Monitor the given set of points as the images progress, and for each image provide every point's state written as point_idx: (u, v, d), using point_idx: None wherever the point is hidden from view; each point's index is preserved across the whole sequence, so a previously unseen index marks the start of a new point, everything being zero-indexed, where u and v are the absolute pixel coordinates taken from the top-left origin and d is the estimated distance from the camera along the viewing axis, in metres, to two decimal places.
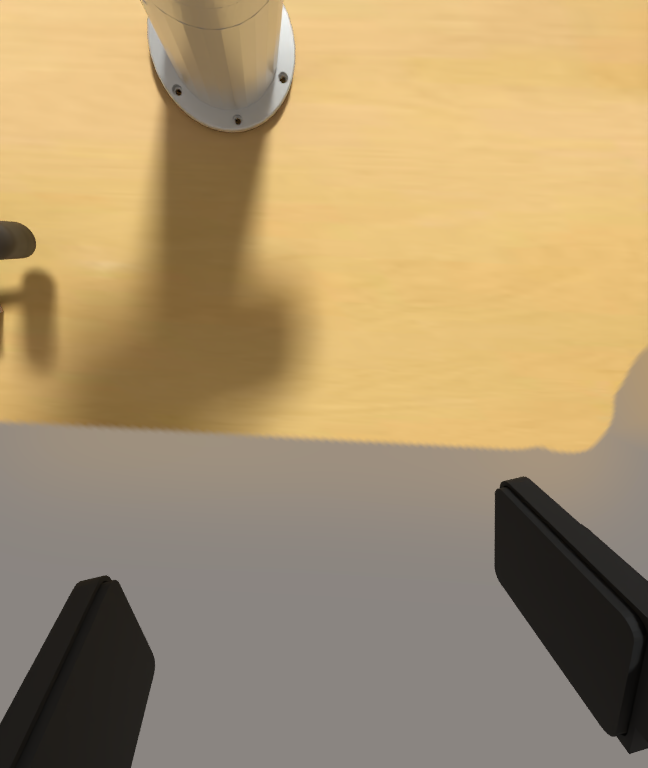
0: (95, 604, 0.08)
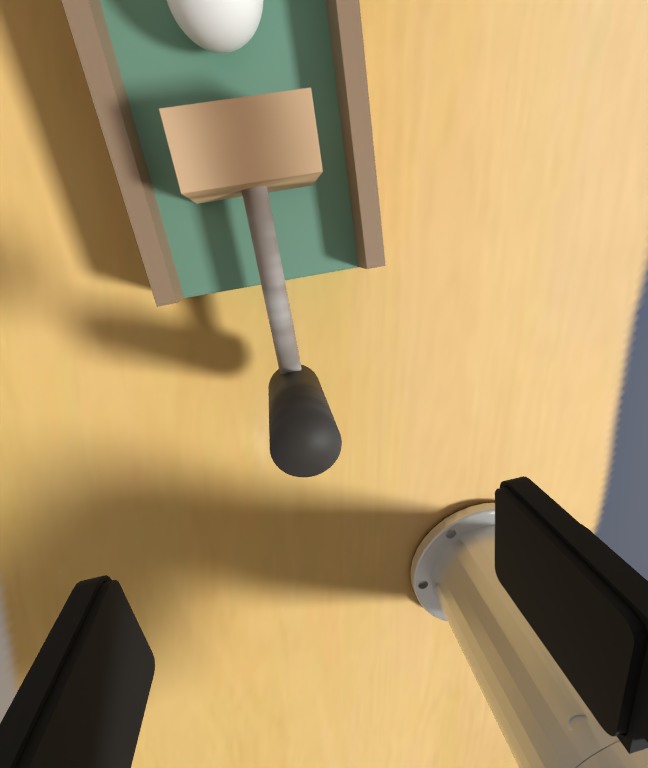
0: (95, 604, 0.08)
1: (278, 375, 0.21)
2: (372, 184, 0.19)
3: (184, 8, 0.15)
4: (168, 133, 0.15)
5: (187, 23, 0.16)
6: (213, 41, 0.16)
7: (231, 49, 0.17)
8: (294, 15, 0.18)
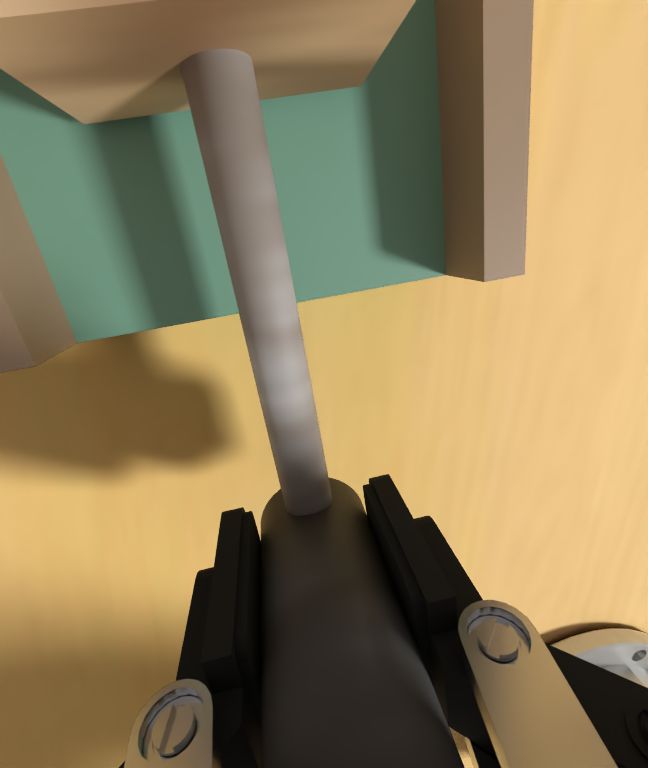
0: (245, 526, 0.09)
1: (282, 513, 0.10)
2: (519, 71, 0.08)
3: None
4: None
5: None
6: None
7: None
8: None
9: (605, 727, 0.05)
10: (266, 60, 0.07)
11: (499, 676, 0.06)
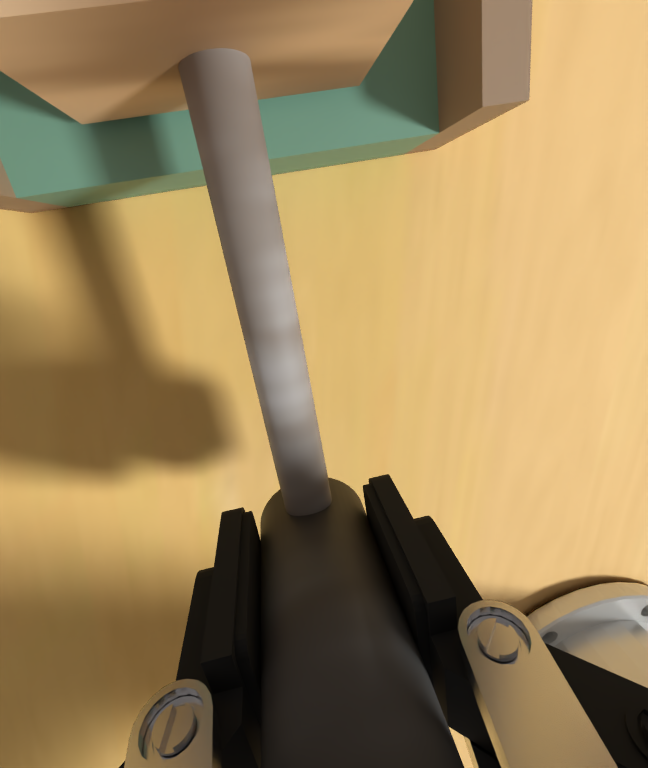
0: (245, 526, 0.09)
1: (281, 514, 0.10)
2: None
3: None
4: None
5: None
6: None
7: None
8: None
9: (605, 727, 0.05)
10: (264, 60, 0.07)
11: (499, 676, 0.06)
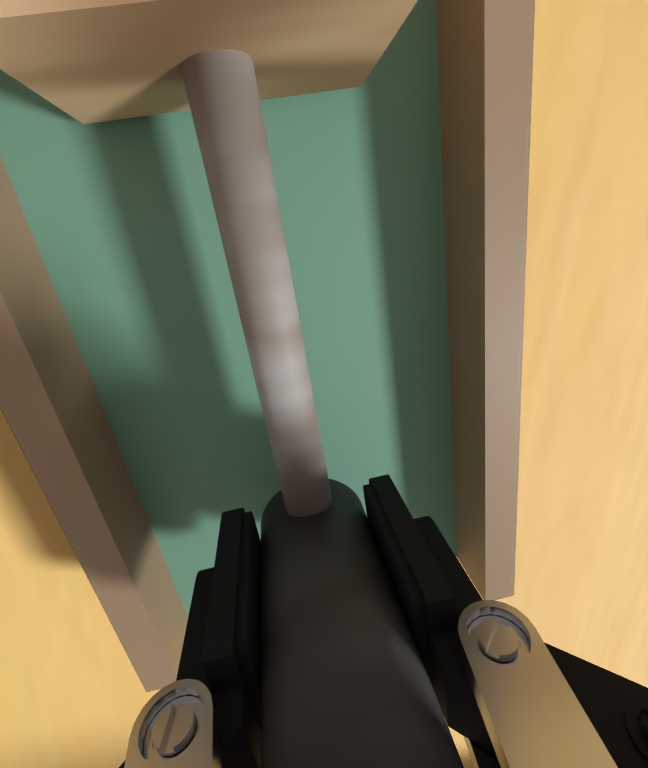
0: (245, 526, 0.09)
1: (281, 514, 0.10)
2: (509, 501, 0.11)
3: None
4: None
5: None
6: None
7: None
8: (387, 235, 0.10)
9: (605, 727, 0.05)
10: (267, 60, 0.07)
11: (499, 676, 0.06)
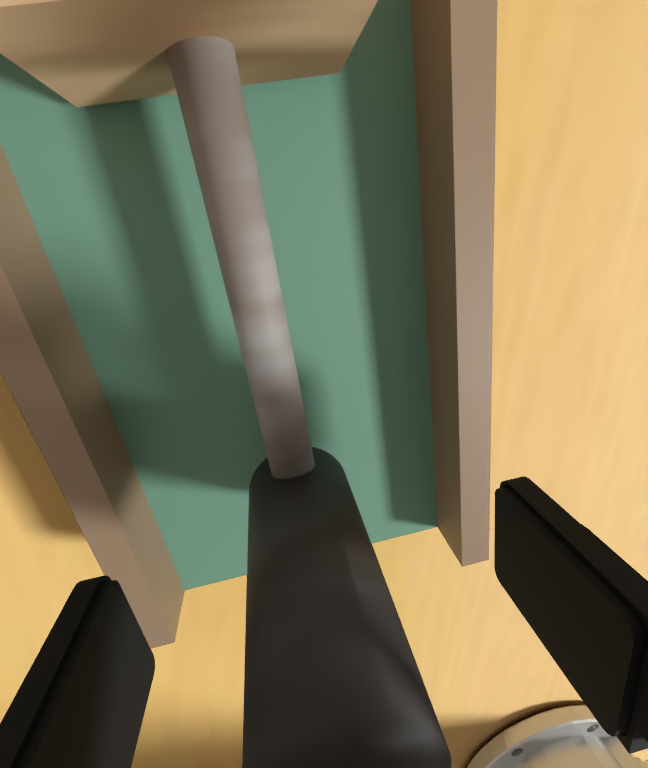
0: (95, 604, 0.08)
1: (267, 478, 0.10)
2: (483, 469, 0.12)
3: None
4: None
5: None
6: None
7: None
8: (367, 217, 0.11)
9: None
10: (247, 47, 0.07)
11: None
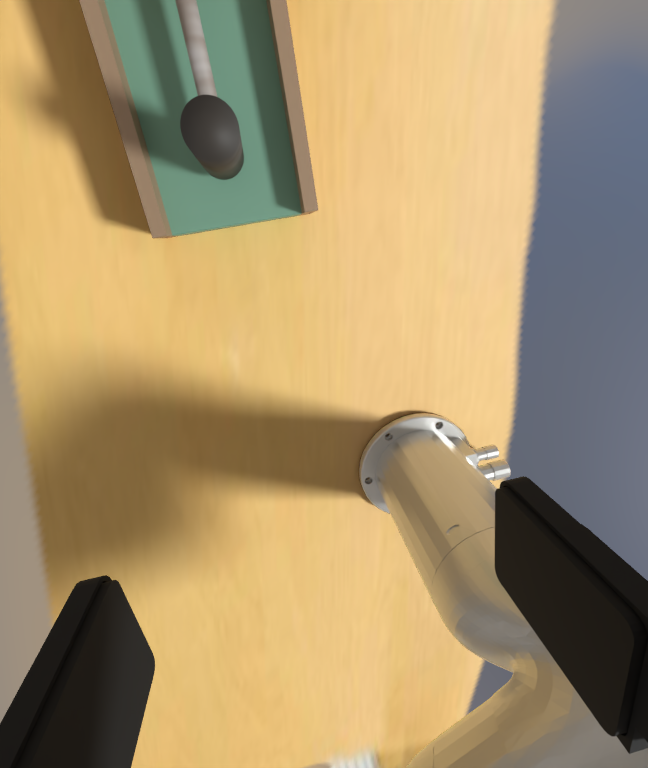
0: (95, 604, 0.08)
1: None
2: (305, 149, 0.27)
3: None
4: None
5: None
6: None
7: None
8: (246, 27, 0.26)
9: None
10: None
11: None
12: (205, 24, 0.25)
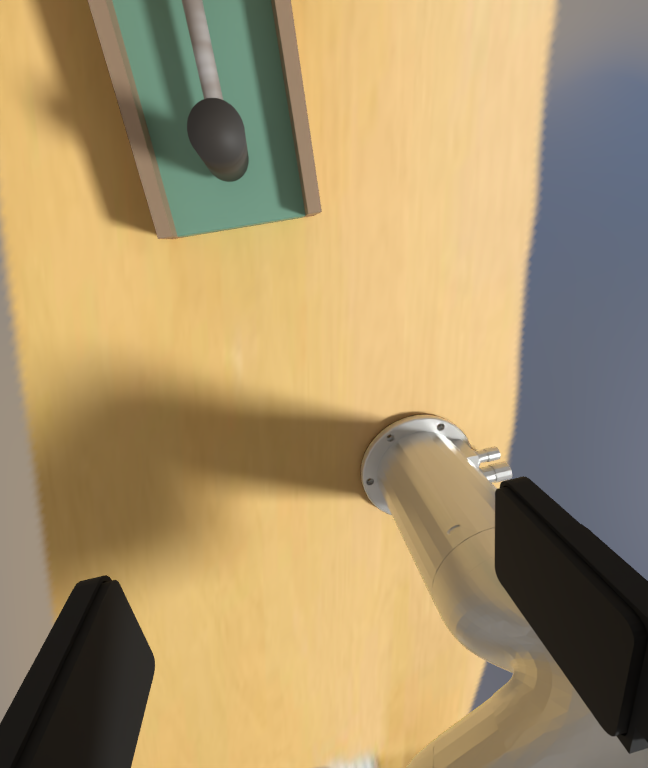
0: (95, 604, 0.08)
1: None
2: (309, 152, 0.27)
3: None
4: None
5: None
6: None
7: None
8: (252, 32, 0.26)
9: None
10: None
11: None
12: (212, 29, 0.26)
